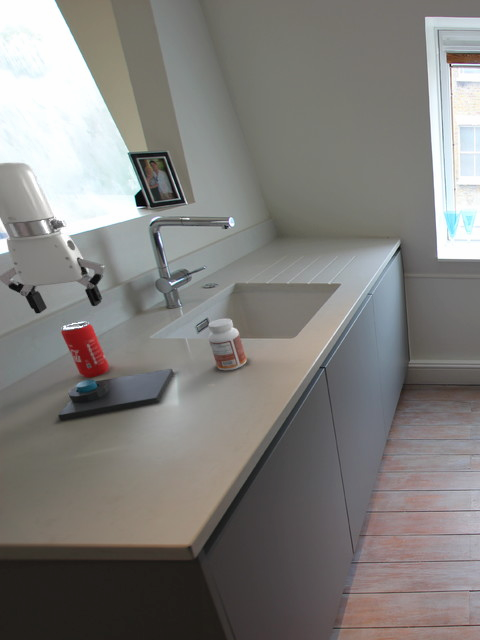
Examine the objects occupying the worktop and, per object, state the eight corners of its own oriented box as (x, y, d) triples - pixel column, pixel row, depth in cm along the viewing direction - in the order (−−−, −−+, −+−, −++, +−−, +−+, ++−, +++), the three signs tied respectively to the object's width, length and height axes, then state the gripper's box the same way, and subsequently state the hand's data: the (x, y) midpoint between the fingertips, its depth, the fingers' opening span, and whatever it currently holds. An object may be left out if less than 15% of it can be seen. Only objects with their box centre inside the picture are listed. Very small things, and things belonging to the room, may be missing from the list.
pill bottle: (237, 356, 109) (225, 315, 105) (252, 362, 106) (241, 320, 102) (212, 367, 104) (198, 324, 100) (227, 373, 102) (214, 330, 97)
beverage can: (108, 374, 102) (87, 327, 97) (79, 380, 99) (56, 332, 94) (112, 365, 106) (92, 319, 101) (84, 370, 103) (63, 323, 98)
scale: (60, 421, 85) (54, 408, 84) (88, 388, 96) (82, 376, 95) (158, 403, 91) (153, 390, 90) (174, 373, 102) (170, 362, 101)
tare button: (76, 395, 89) (73, 388, 88) (82, 387, 92) (79, 381, 91) (94, 391, 90) (91, 385, 89) (100, 384, 93) (97, 378, 92)
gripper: (93, 221, 95) (123, 296, 102) (-12, 229, 89) (28, 307, 96) (78, 228, 88) (111, 307, 96) (-36, 237, 83) (8, 320, 90)
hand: (69, 307), depth 96 cm, fingers open, 9 cm apart
